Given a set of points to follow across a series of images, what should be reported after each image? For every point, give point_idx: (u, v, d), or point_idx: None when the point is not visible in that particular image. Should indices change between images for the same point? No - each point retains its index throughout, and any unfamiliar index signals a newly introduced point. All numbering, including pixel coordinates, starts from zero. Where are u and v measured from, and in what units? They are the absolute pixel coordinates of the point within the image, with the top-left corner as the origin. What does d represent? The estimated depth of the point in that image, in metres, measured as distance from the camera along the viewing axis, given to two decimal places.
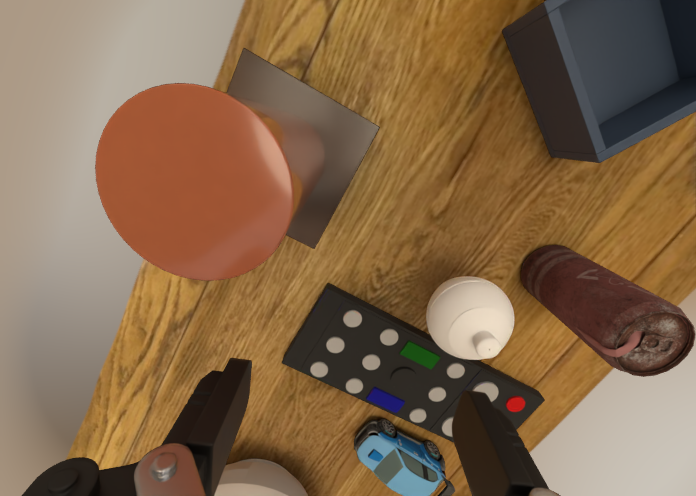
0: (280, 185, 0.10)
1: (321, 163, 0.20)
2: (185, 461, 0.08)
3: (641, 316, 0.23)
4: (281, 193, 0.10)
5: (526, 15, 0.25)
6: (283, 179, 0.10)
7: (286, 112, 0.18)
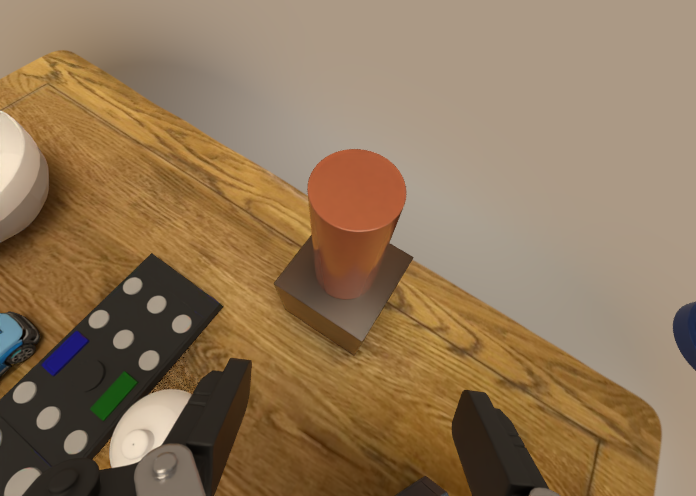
0: (357, 226, 0.19)
1: (343, 289, 0.29)
2: (185, 461, 0.08)
3: None
4: (353, 225, 0.19)
5: (436, 485, 0.31)
6: (361, 227, 0.19)
7: (379, 267, 0.28)
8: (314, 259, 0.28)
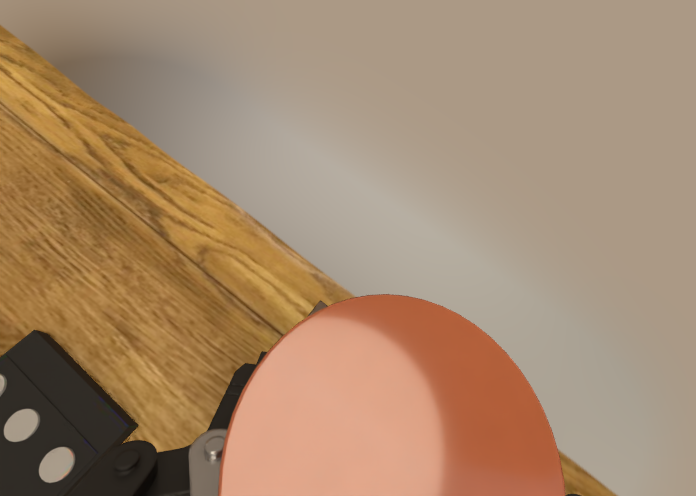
0: None
1: None
2: None
3: None
4: None
5: None
6: None
7: None
8: None
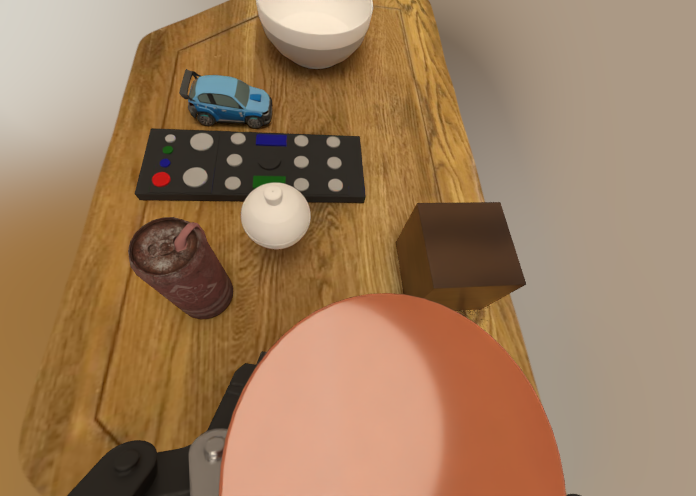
0: None
1: None
2: None
3: (193, 259, 0.28)
4: None
5: None
6: None
7: None
8: None
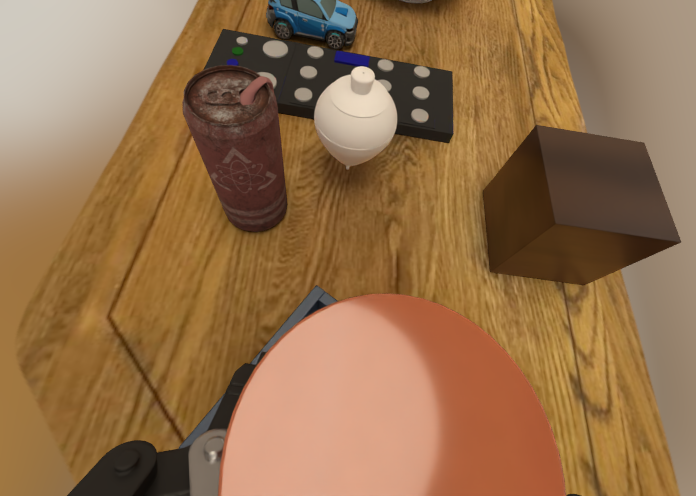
0: None
1: None
2: None
3: (261, 114, 0.21)
4: None
5: None
6: None
7: None
8: None
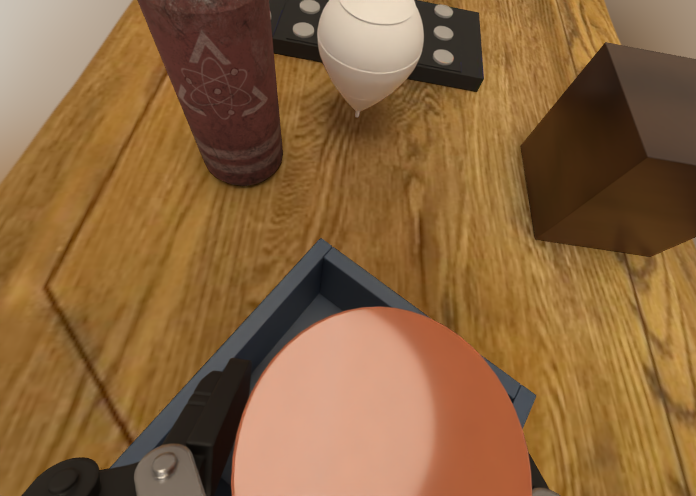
0: None
1: None
2: (185, 461, 0.08)
3: None
4: None
5: None
6: None
7: None
8: None
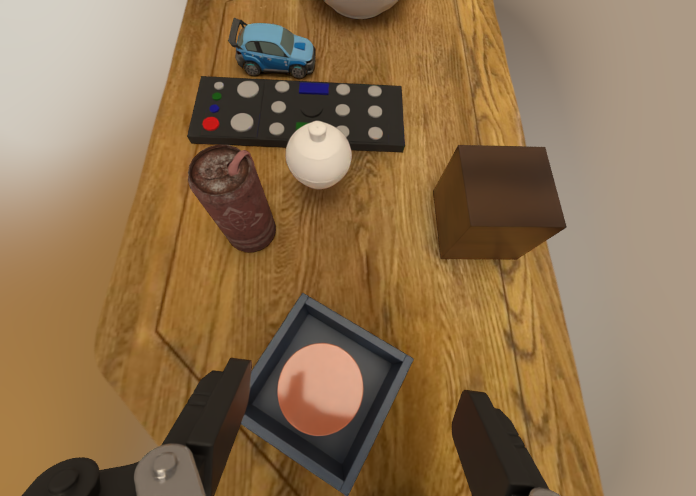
0: (321, 429, 0.22)
1: None
2: (185, 461, 0.08)
3: (244, 182, 0.30)
4: (318, 429, 0.22)
5: None
6: (324, 431, 0.22)
7: None
8: None
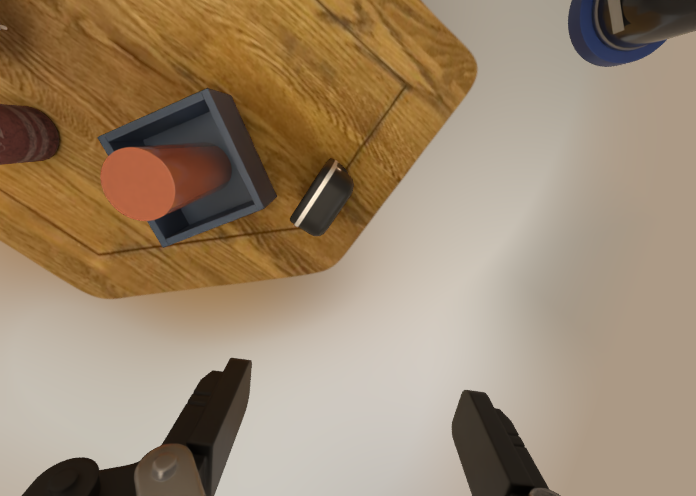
0: (167, 204, 0.28)
1: (217, 188, 0.38)
2: (185, 461, 0.08)
3: None
4: (165, 206, 0.28)
5: (216, 91, 0.35)
6: (169, 203, 0.28)
7: (213, 160, 0.36)
8: None
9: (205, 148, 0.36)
